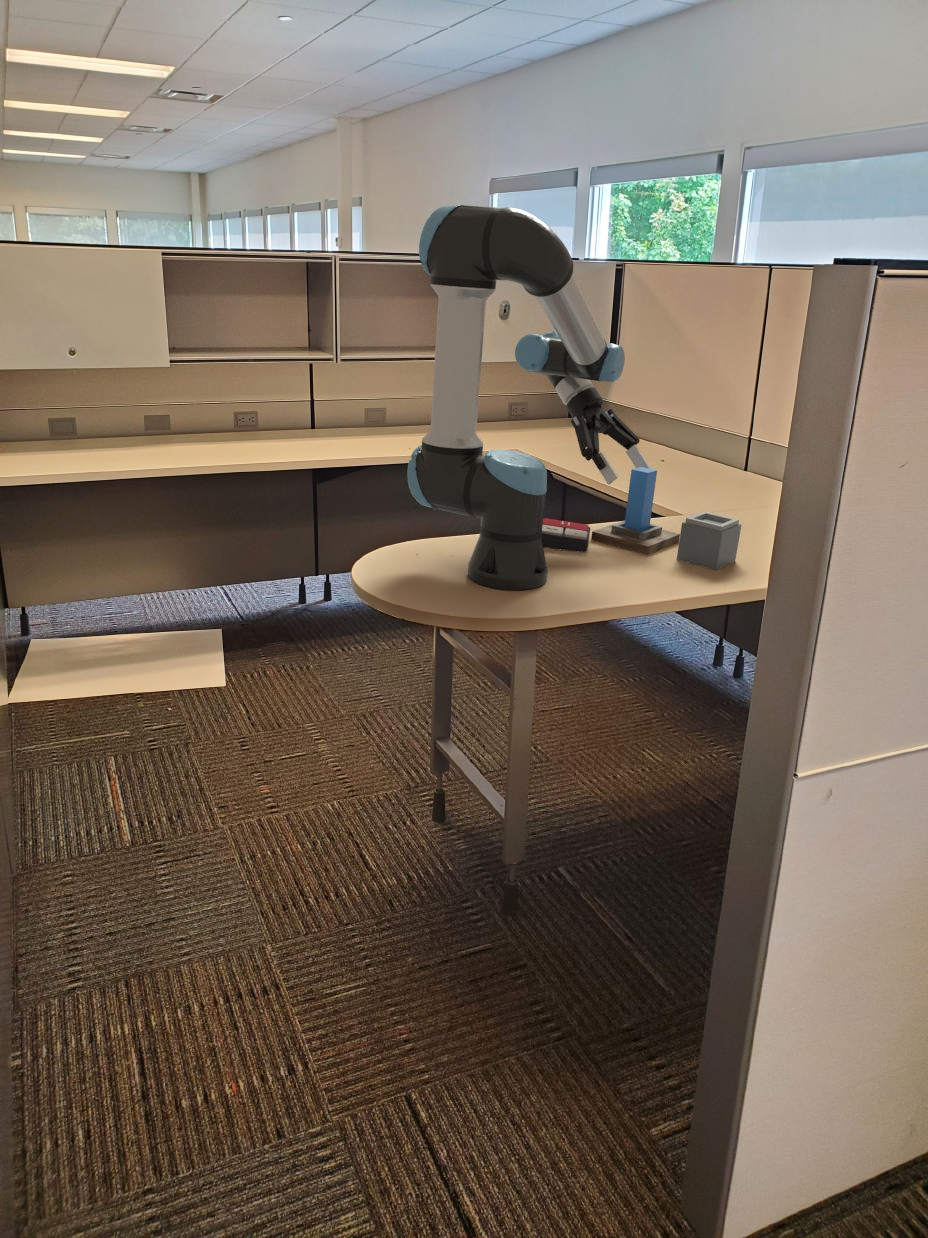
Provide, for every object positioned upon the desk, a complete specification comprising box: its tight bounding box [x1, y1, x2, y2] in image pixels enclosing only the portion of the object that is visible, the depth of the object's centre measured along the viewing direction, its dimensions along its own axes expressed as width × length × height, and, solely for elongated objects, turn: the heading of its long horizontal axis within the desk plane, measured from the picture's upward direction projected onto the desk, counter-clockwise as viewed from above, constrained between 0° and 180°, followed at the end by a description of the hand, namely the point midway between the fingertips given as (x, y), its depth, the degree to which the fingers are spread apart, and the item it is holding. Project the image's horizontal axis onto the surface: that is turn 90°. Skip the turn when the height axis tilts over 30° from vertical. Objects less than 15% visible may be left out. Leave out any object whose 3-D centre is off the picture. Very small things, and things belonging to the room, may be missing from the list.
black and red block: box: [541, 517, 591, 553], centre depth 202 cm, size 11×4×15 cm
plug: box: [624, 467, 658, 532], centre depth 203 cm, size 4×4×14 cm
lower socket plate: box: [590, 519, 680, 556], centre depth 206 cm, size 14×14×4 cm
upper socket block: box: [676, 511, 742, 571], centre depth 195 cm, size 9×9×9 cm
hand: (630, 476), depth 203 cm, fingers open, 13 cm apart
